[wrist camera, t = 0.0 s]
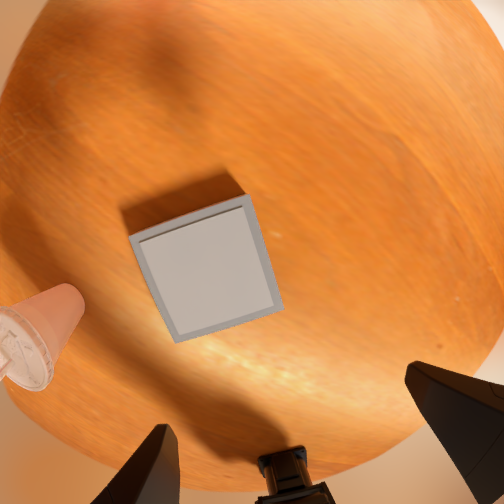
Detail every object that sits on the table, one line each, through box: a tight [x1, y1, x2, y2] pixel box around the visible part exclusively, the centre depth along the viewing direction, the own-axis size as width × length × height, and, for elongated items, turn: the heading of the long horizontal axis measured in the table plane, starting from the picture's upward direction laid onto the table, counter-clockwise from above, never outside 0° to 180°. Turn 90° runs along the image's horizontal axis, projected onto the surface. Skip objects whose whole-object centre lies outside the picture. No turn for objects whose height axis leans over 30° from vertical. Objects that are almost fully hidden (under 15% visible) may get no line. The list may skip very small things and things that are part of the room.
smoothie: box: [0, 283, 85, 391], centre depth 14 cm, size 6×6×14 cm
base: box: [129, 193, 284, 344], centre depth 20 cm, size 9×9×3 cm
